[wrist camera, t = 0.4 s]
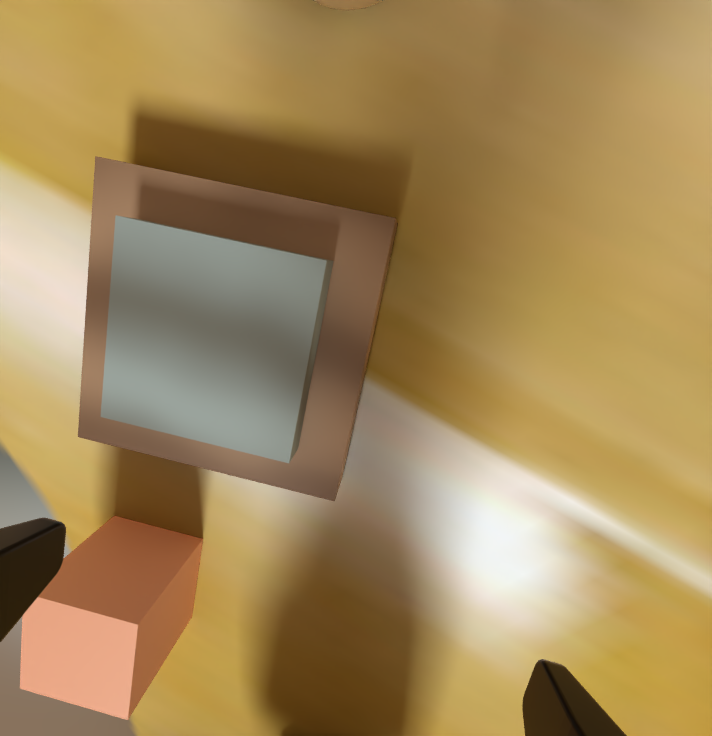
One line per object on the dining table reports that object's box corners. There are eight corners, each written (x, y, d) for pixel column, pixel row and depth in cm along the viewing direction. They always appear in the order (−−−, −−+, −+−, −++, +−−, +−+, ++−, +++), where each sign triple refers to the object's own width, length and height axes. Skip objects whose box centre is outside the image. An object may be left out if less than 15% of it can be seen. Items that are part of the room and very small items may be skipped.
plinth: (342, 475, 22) (328, 519, 19) (112, 418, 23) (53, 449, 19) (397, 223, 20) (394, 214, 16) (132, 169, 20) (67, 147, 17)
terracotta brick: (192, 615, 26) (127, 720, 20) (108, 592, 26) (20, 688, 20) (203, 538, 24) (138, 624, 19) (114, 515, 25) (23, 593, 19)
